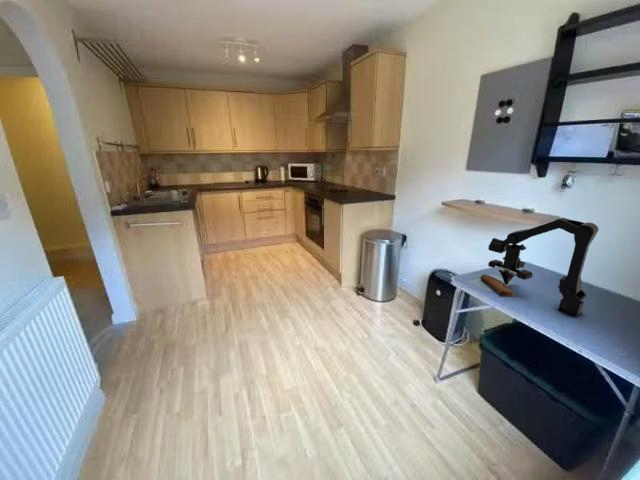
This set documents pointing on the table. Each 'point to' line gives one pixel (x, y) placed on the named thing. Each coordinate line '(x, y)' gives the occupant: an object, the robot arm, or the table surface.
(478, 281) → the mat
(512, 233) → the robot arm
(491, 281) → the sunglasses case
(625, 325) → the table surface
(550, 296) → the table surface
